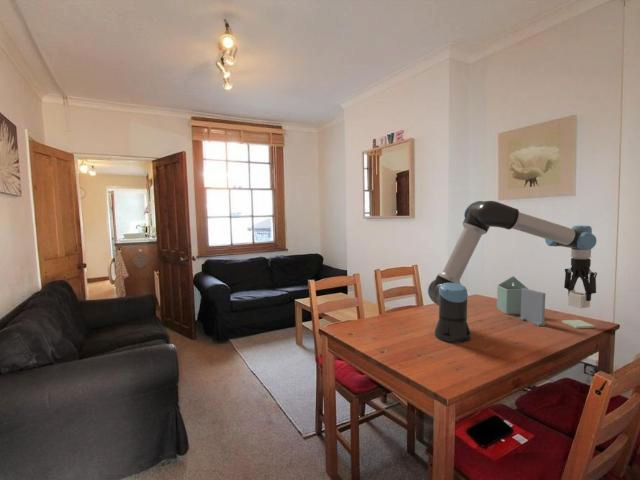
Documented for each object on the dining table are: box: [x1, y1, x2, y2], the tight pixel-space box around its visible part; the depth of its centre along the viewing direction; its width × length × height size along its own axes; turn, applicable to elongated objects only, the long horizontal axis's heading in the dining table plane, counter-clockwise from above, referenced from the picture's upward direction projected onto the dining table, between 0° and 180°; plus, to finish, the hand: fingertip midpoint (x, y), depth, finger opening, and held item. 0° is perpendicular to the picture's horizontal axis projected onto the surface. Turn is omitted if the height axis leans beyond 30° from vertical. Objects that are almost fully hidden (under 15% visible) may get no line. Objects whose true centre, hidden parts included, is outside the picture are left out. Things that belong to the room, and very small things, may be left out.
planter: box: [496, 275, 529, 315], centre depth 188 cm, size 16×8×20 cm, turn 40°
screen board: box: [518, 288, 547, 327], centre depth 172 cm, size 12×5×16 cm, turn 18°
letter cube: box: [567, 291, 591, 309], centre depth 166 cm, size 6×6×6 cm
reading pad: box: [561, 319, 596, 329], centre depth 167 cm, size 9×9×1 cm
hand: (578, 305), depth 166 cm, fingers closed on letter cube, 6 cm apart
